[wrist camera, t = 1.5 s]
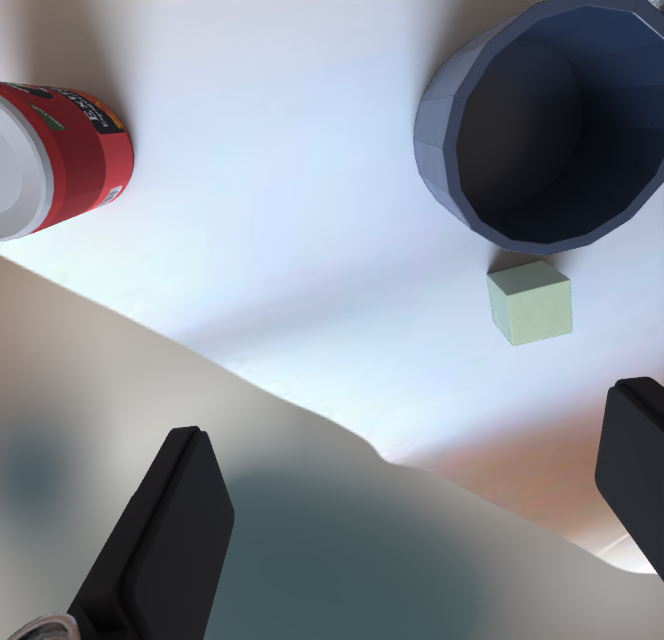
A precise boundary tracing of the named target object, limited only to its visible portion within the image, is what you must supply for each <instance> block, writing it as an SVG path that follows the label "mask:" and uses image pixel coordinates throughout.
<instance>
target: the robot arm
mask: <svg viewBox="0 0 664 640" xmlns="http://www.w3.org/2000/svg"><path fill="white" fill-rule="evenodd" d="M595 482H596V486H597V488H598V490H599V492H600V493H601V495H602V496H603V498H604V499H605V500H606V502H607V503H608V505H609V506H610V507H611V509H612V510H613V512H614V513H615V514H616V516H617V517H618V519H619V520H620V521H621V523H622V524H623V526H624V527H625V528H626V530H627V531H628V533H629V534H630V535H631V537H632V538H633V540H634V541H635V542H636V544H637V545H638V547H639V548H640V549H641V551H642V552H643V554H644V555H645V556H646V558H647V559H648V561H649V562H650V563H651V565H652V566H653V568H654V569H655V570H656V572H657V573H658V575H659V576H660V577H661V579H662V580H663V582H664V387H663V386H661V385H660V384H659V383H658V382H656V381H655V380H654V379H652V378H650V377H637V378H628V379H620V380H618V381H617V382H616V383H615V386H614V387H611V388H610V389H609V390H608V394H607V401H606V407H605V413H604V419H603V426H602V432H601V438H600V445H599V451H598V457H597V464H596V470H595ZM233 525H234V510H233V506H232V503H231V500H230V497H229V494H228V491H227V489H226V486H225V483H224V480H223V477H222V474H221V471H220V468H219V465H218V463H217V460H216V457H215V454H214V451H213V448H212V445H211V442H210V439H209V437H208V434H207V432H205V431H201V430H200V429H199V427H198V426H190V427H181V428H174V429H172V430H171V431H170V432H169V434H168V436H167V437H166V439H165V441H164V443H163V445H162V446H161V448H160V450H159V452H158V454H157V455H156V457H155V459H154V461H153V463H152V464H151V466H150V468H149V470H148V471H147V473H146V475H145V477H144V479H143V480H142V482H141V484H140V486H139V487H138V489H137V491H136V492H135V494H134V495H133V496H132V497H131V499H130V501H129V503H128V504H127V506H126V508H125V510H124V512H123V513H122V515H121V517H120V519H119V520H118V522H117V524H116V526H115V528H114V529H113V531H112V533H111V535H110V536H109V538H108V540H107V542H106V543H105V545H104V547H103V549H102V551H101V552H100V554H99V556H98V558H97V559H96V561H95V563H94V565H93V566H92V569H91V570H90V572H89V574H88V575H87V577H86V579H85V581H84V582H83V584H82V586H81V588H80V590H79V592H78V593H77V595H76V597H75V598H74V600H73V602H72V604H71V606H70V608H69V609H68V611H67V613H51V614H47V615H44V616H41V617H39V618H37V619H35V620H33V621H31V622H29V623H28V624H26V625H24V626H23V627H22V628H21V629H19V630H18V631H17V632H15V633H14V634H13V635H12V636H10V637H9V638H8V639H7V640H203V638H204V634H205V630H206V626H207V623H208V619H209V615H210V611H211V608H212V604H213V600H214V597H215V593H216V589H217V585H218V582H219V578H220V574H221V570H222V567H223V563H224V559H225V555H226V551H227V548H228V544H229V540H230V536H231V533H232V529H233Z"/></svg>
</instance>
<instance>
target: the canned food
mask: <svg viewBox="0 0 664 640" xmlns="http://www.w3.org/2000/svg"><path fill="white" fill-rule="evenodd" d="M133 166H134V154H133V147H132V144H131V140H130V137H129V135H128V133H127V131H126V129H125V127H124V125H123V124H122V122H121V121H120V120H119V118H118V117H117V116H116V115H115V114H114V113H113V112H112V111H111V110H110V109H109V108H108V107H107V106H106V105H104V104H103V103H101V102H100V101H99V100H97V99H96V98H94V97H92V96H90V95H88V94H86V93H84V92H80V91H76V90H72V89H63V88H54V87H44V86H35V85H25V84H16V83H7V82H0V242H3V241H8V240H13V239H18V238H21V237H24V236H26V235H29V234H32V233H35V232H37V231H40V230H42V229H45V228H47V227H50V226H52V225H55V224H57V223H60V222H62V221H65V220H67V219H70V218H72V217H75V216H77V215H80V214H82V213H85V212H87V211H90V210H92V209H95V208H97V207H100V206H102V205H105V204H107V203H109V202H111V201H113V200H114V199H116V198H117V197H118V196H119V195H120V194H121V193H122V192H123V190H124V189H125V188H126V186H127V184H128V182H129V180H130V178H131V175H132V171H133Z"/></svg>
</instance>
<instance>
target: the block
mask: <svg viewBox="0 0 664 640" xmlns="http://www.w3.org/2000/svg"><path fill="white" fill-rule="evenodd" d="M487 282H488V289H489V296H490V304H491V311H492V318H493V322H494V323H495V324H496V326H497V327H498V328H499V329H500V331H501V332H502V333H503V335H504V336H505V337H506V338H507V340H508V341H509V342H510V344H511V345H512V346H518V345H522V344H526V343H530V342H534V341H538V340H543V339H547V338H551V337H555V336H559V335H564V334H568V333H572V310H571V286H570V279H569V278H567V277H566V276H565V275H563V274H562V273H560V272H559V271H557V270H556V269H555V268H553V267H552V266H550V265H549V264H547V263H546V262H544V261H543V260H539V261H536V262H532V263H528V264H524V265H521V266H517V267H513V268H509V269H505V270H502V271H498V272H494V273H490V274H487Z"/></svg>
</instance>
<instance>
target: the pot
mask: <svg viewBox="0 0 664 640" xmlns="http://www.w3.org/2000/svg"><path fill="white" fill-rule="evenodd" d="M413 141H414V152H415V158H416V163H417V167H418V170H419V174H420V176H421V178H422V179H423V181H424V183H425V184H426V186H427V188H428V189H429V190H430V192H431V193H432V195H433V196H434V198H435V199H436V200H437V201H438V202H439V203H440V204H441V205H442V206H444V207H445V208H446V209H447V210H448V211H449V212H451V213H452V214H453V215H454V216H455V217H457V218H458V219H459V220H460V221H461V222H463V223H464V224H465V225H466V226H467V227H469V228H470V229H471V230H472V231H474V232H476V233H477V234H479V235H480V236H482V237H484V238H485V239H487V240H489V241H490V242H492V243H493V244H495V245H497V246H498V247H500V248H502V249H503V250H506V251H514V252H522V253H530V254H538V255H550V254H554V253H558V252H562V251H566V250H571V249H575V248H579V247H583V246H587V245H589V244H592V243H593V242H595V241H596V240H598V239H600V238H601V237H603V236H604V235H606V234H608V233H609V232H611V231H612V230H614V229H616V228H617V227H619V226H620V225H622V224H624V223H625V222H627V221H628V220H630V219H631V218H632V217H633V216H634V215H635V214H636V213H637V212H638V211H639V209H640V208H641V207H642V206H643V205H644V204H645V203H646V202H647V200H648V199H649V198H650V197H651V196H652V195H653V194H654V192H655V191H656V190H657V189H658V188H659V187H660V186H661V185H662V183H663V182H664V14H662V13H661V12H660V11H659V10H658V9H657V8H656V7H654V6H653V5H652V4H651V3H650V2H649V1H647V0H545V1H542V2H539V3H536V4H534V5H532V6H530V7H528V8H527V9H525V10H523V11H521V12H519V13H518V14H516V15H514V16H512V17H510V18H509V19H507V20H505V21H503V22H501V23H499V24H498V25H496V26H494V27H492V28H490V29H489V30H487V31H485V32H483V33H481V34H480V35H478V36H476V37H474V38H473V39H472V40H470V41H469V42H468V43H467V44H466V45H464V46H463V47H462V48H461V49H459V50H458V51H456V52H455V53H454V54H453V55H452V56H451V57H450V58H449V59H448V60H446V61H445V62H444V63H443V65H441V67H440V68H439V70H438V71H437V73H436V74H435V76H434V77H433V79H432V80H431V82H430V83H429V85H428V87H427V89H426V91H425V93H424V95H423V97H422V99H421V102H420V105H419V108H418V112H417V116H416V120H415V128H414V137H413Z"/></svg>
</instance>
